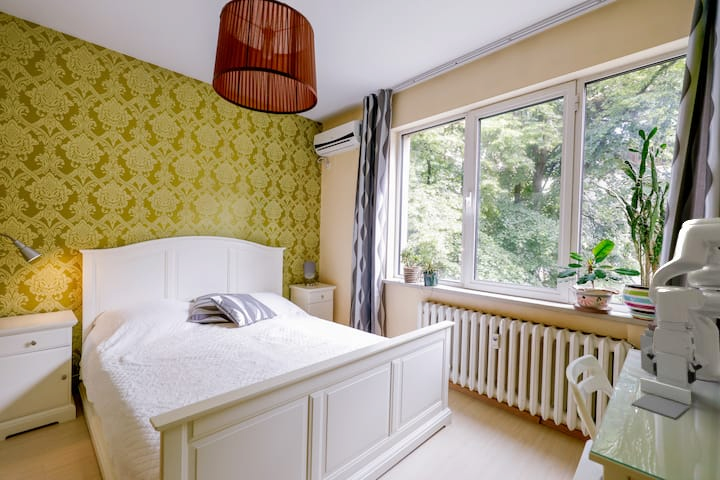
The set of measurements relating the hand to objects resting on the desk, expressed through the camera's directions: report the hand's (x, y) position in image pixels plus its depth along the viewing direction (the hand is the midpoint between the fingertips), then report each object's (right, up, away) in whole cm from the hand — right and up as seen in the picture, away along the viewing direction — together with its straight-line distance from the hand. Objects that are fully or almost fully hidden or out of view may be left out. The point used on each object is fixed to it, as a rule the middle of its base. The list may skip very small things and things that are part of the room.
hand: (674, 378), depth 109 cm
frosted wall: (-8, -4, -5) cm, 10 cm away
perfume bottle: (+8, -4, +15) cm, 18 cm away
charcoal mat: (-15, -4, -11) cm, 18 cm away
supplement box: (0, -4, 0) cm, 4 cm away
